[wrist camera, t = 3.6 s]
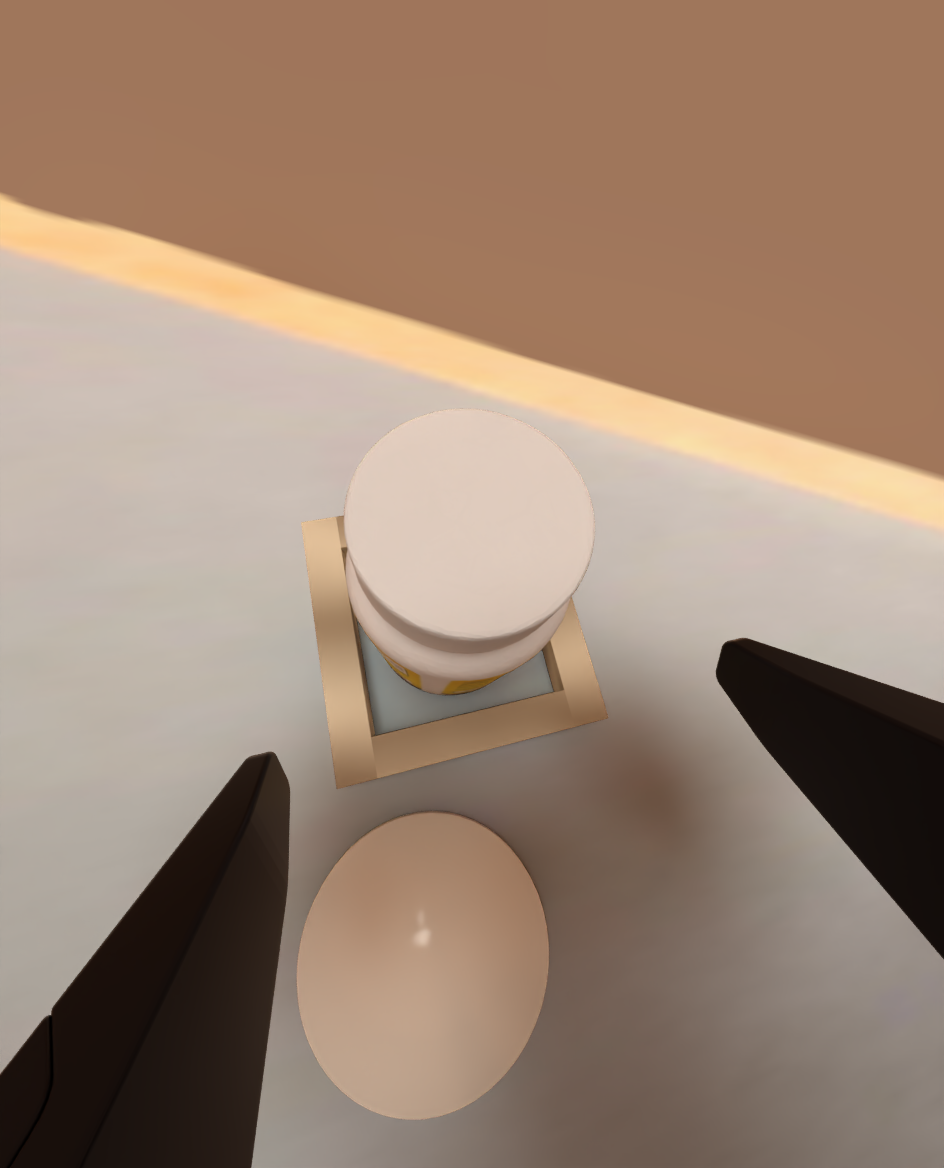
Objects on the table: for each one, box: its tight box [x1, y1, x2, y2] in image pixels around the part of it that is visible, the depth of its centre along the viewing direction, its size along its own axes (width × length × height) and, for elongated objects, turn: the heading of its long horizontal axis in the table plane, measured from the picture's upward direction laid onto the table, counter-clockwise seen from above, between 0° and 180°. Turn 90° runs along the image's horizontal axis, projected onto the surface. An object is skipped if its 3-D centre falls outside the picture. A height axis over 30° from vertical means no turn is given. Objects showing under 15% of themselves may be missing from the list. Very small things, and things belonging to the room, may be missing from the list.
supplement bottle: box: [344, 409, 595, 695], centre depth 14 cm, size 6×6×11 cm
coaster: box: [297, 811, 549, 1119], centre depth 16 cm, size 9×9×1 cm
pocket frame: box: [301, 516, 608, 789], centre depth 19 cm, size 11×11×2 cm
